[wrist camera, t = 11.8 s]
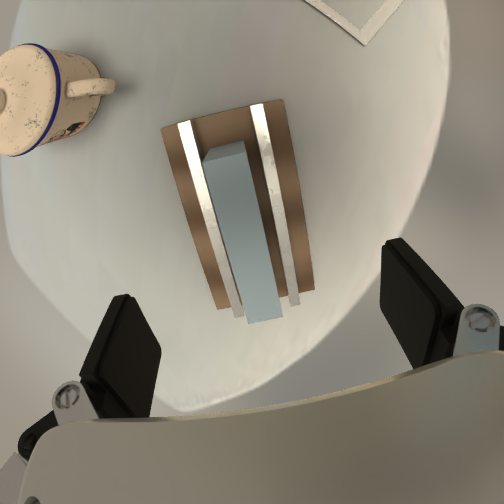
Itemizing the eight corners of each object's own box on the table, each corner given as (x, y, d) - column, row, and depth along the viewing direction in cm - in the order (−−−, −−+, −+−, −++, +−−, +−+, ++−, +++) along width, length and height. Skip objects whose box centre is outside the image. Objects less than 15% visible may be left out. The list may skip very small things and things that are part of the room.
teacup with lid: (33, 143, 25) (-41, 172, 14) (34, 62, 20) (-42, 60, 10) (132, 134, 26) (72, 157, 15) (136, 42, 21) (79, 13, 11)
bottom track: (162, 128, 25) (155, 130, 23) (281, 99, 25) (286, 99, 22) (217, 305, 35) (216, 321, 32) (313, 285, 34) (318, 300, 32)
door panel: (210, 148, 26) (201, 162, 20) (243, 140, 26) (245, 152, 20) (245, 280, 32) (248, 323, 26) (273, 274, 32) (282, 316, 26)
